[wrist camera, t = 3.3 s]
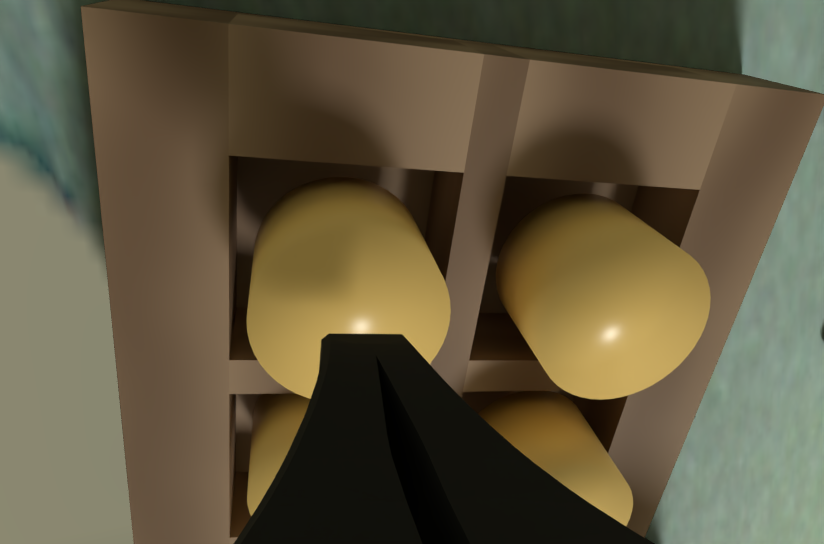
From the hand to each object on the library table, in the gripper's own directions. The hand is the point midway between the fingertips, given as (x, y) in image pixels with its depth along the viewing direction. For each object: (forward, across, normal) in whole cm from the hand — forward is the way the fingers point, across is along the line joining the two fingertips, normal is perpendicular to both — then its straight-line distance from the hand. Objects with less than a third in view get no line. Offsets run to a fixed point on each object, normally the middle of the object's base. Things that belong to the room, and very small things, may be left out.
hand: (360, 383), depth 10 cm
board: (+7, -3, +3) cm, 8 cm away
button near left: (+5, 0, 0) cm, 5 cm away
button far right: (+5, -6, +6) cm, 10 cm away
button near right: (+5, -6, 0) cm, 8 cm away
